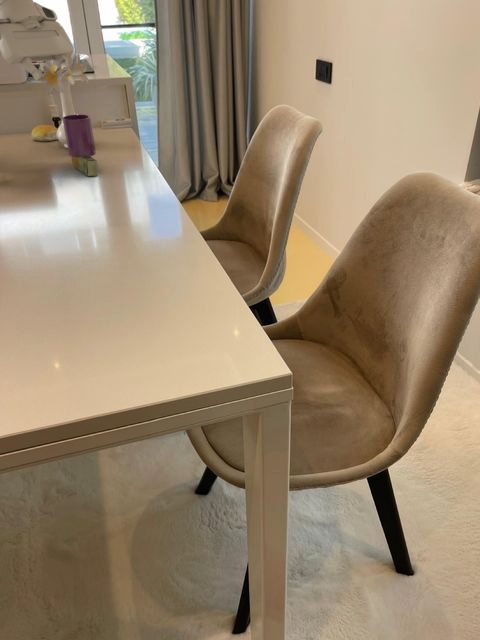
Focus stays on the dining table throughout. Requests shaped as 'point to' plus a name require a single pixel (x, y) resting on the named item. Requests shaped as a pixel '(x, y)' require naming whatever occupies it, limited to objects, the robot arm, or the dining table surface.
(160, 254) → the dining table surface
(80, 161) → the medication box
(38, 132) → the bread roll
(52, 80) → the flower vase
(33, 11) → the robot arm
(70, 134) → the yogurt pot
